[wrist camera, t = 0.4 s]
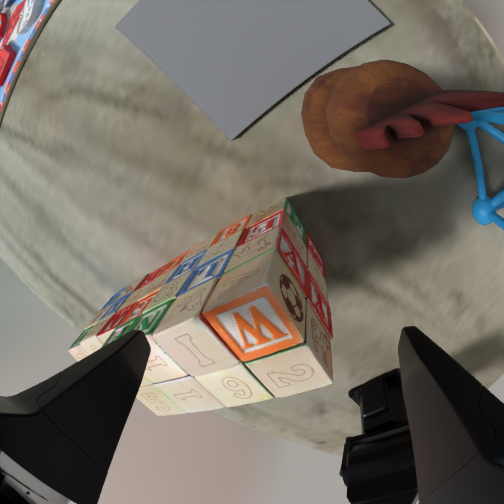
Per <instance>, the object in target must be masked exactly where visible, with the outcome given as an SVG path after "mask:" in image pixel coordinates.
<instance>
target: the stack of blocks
mask: <svg viewBox="0 0 504 504" xmlns="http://www.w3.org/2000/svg"><path fill="white" fill-rule="evenodd" d="M325 281H326V276H325V268H324V262H323V260H322V258H321V256H320V254H319V252H318V251H317V249H316V247H315V245H314V243H313V242H312V240H311V238H310V236H309V234H308V233H307V232H306V230H305V229H304V227H303V225H302V223H301V221H300V220H299V218H298V216H297V214H296V213H295V211H294V209H293V207H292V206H291V204H290V202H289V200H288V199H287V198H284V199H282V200H280V201H278V202H276V203H274V204H272V205H270V206H269V207H267V208H265V209H263V210H261V211H259V212H257V213H255V214H253V215H249V216H248V217H246V218H244V219H242V220H240V221H238V222H237V223H235V224H233V225H231V226H229V227H228V228H226V229H224V230H222V231H221V232H219V233H217V234H215V235H213V236H211V237H209V238H207V239H206V240H204V241H202V242H201V243H199V244H197V245H195V246H194V247H192V248H191V250H189V251H187V252H186V253H184V254H183V255H181V256H179V257H177V258H176V259H174V260H172V261H170V262H169V263H168V264H167V265H165V266H163V267H161V268H159V269H158V270H156V271H155V272H153V273H151V274H149V275H148V276H144V277H142V278H140V279H139V280H137V281H135V282H134V283H132V284H130V285H129V286H128V287H126V288H124V289H123V290H121V291H120V292H118V293H116V294H115V295H114V296H113V297H112V298H111V299H110V300H109V301H108V302H107V303H106V304H105V306H104V307H103V308H102V309H101V310H100V311H99V312H98V313H97V314H96V315H95V317H94V318H93V319H92V320H91V321H90V322H89V323H88V325H87V326H86V327H85V328H84V331H83V332H82V334H81V335H80V336H79V337H78V338H77V340H76V341H75V342H74V343H73V344H72V346H71V347H70V348H69V349H68V351H69V352H70V353H71V354H72V355H73V356H74V357H75V359H76V360H77V361H80V360H82V359H83V358H85V357H87V356H88V355H90V354H92V353H94V352H95V351H97V350H99V349H100V348H102V347H104V346H105V345H107V344H109V343H111V342H112V341H114V340H116V339H117V338H119V337H121V336H122V335H124V334H126V333H127V332H129V331H131V330H134V329H135V330H142V331H143V332H144V333H145V336H146V338H147V340H148V342H149V344H150V346H151V353H150V356H149V359H148V363H147V366H146V369H145V373H144V376H143V380H142V383H141V386H140V388H139V391H138V393H137V396H136V397H137V398H138V399H139V400H140V401H141V402H142V403H144V405H146V406H147V407H148V408H149V409H150V410H152V411H153V412H154V413H155V414H157V415H158V416H163V415H174V414H184V413H188V412H200V411H206V410H214V409H219V408H223V407H233V406H239V405H243V404H249V403H254V402H259V401H264V400H268V399H272V398H274V397H278V398H279V397H286V396H290V395H294V394H297V393H301V392H305V391H309V390H313V389H316V388H320V387H324V386H327V385H329V384H331V383H332V382H333V369H332V353H331V343H330V340H331V339H332V338H333V334H332V322H331V313H330V307H329V302H328V295H327V287H326V282H325Z"/></svg>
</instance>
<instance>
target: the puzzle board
mask: <svg viewBox="0 0 504 504" xmlns="http://www.w3.org/2000/svg"><path fill="white" fill-rule="evenodd" d="M59 2H60V0H0V124H1V121H2V118H3V115H4V112H5V109H6V106H7V103H8V100H9V98H10V95H11V92H12V90H13V87H14V85H15V82H16V80H17V78H18V75H19V73H20V71H21V69H22V67H23V64H24V62H25V60H26V58H27V56H28V54H29V52H30V50H31V48H32V46H33V44H34V43H35V41H36V39H37V37H38V35H39V33H40V32H41V30H42V28H43V27H44V25H45V23H46V22H47V20H48V18H49V17H50V15H51V14H52V12H53V11H54V9H55V8H56V6H57V5H58V3H59Z"/></svg>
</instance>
